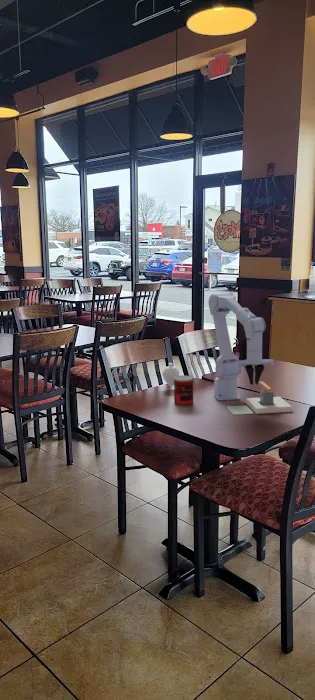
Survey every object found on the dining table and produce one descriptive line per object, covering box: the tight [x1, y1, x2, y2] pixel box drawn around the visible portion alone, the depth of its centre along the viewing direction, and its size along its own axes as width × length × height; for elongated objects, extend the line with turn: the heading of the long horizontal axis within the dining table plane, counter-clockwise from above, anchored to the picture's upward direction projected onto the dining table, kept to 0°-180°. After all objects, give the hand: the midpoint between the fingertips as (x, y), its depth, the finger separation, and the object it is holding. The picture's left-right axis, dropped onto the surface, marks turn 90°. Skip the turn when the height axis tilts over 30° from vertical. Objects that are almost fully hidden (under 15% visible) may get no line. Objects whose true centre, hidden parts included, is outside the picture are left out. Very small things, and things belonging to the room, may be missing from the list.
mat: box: [226, 405, 255, 416], centre depth 200 cm, size 8×10×1 cm
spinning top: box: [162, 362, 180, 390], centre depth 232 cm, size 8×8×12 cm
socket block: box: [245, 386, 293, 415], centre depth 203 cm, size 14×14×7 cm
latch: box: [258, 380, 273, 393], centre depth 203 cm, size 11×2×2 cm, turn 7°
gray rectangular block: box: [259, 389, 274, 406], centre depth 202 cm, size 4×4×7 cm
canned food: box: [173, 375, 194, 407], centre depth 210 cm, size 8×8×11 cm
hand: (254, 383), depth 199 cm, fingers closed
